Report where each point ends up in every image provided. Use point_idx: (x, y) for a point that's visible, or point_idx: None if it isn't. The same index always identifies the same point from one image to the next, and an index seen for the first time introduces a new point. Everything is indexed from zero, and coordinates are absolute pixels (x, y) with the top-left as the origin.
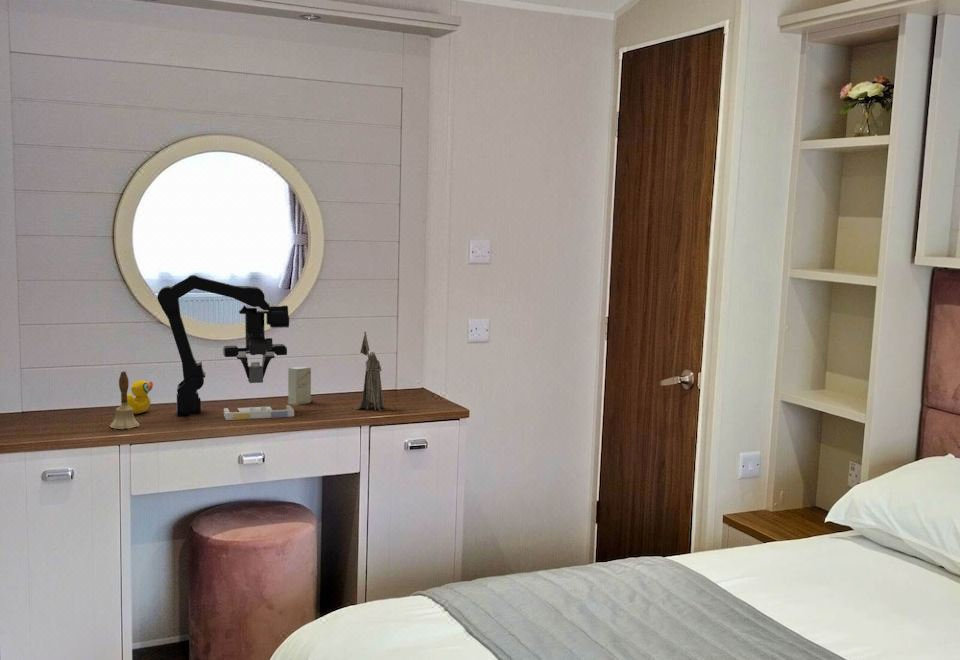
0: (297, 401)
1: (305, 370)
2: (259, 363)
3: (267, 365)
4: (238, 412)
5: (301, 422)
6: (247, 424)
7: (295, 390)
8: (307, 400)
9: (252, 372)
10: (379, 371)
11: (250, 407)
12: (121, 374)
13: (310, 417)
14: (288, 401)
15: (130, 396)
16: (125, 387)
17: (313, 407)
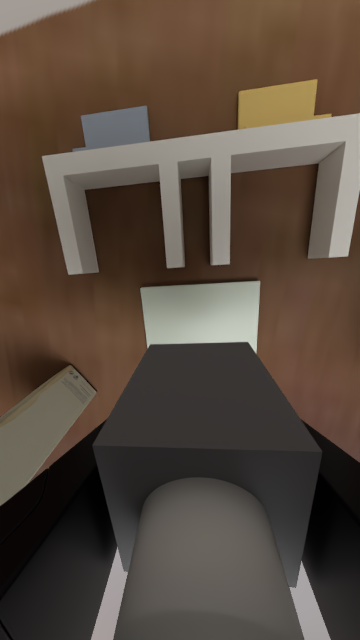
0: (58, 373)
1: None
2: (123, 598)
3: (3, 504)
4: (303, 131)
5: (31, 69)
6: (259, 56)
7: (35, 403)
8: (33, 391)
9: (247, 396)
10: None
11: (227, 254)
12: None
13: (10, 178)
14: (91, 397)
15: None
16: None
17: (23, 344)
